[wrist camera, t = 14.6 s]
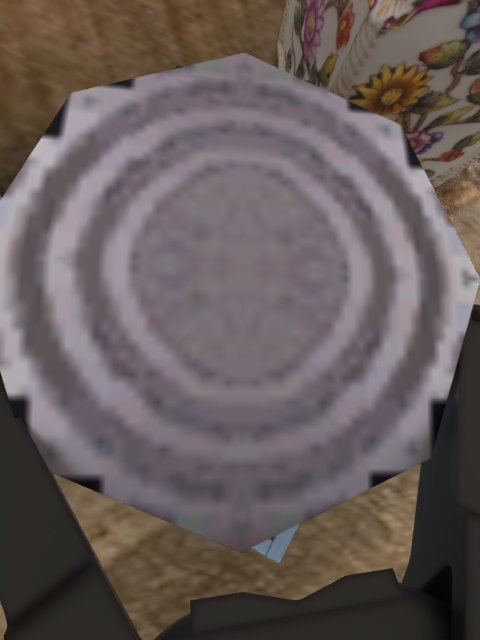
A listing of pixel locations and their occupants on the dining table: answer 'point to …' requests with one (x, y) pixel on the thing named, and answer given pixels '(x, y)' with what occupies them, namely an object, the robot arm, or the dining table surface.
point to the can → (228, 298)
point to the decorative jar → (396, 68)
